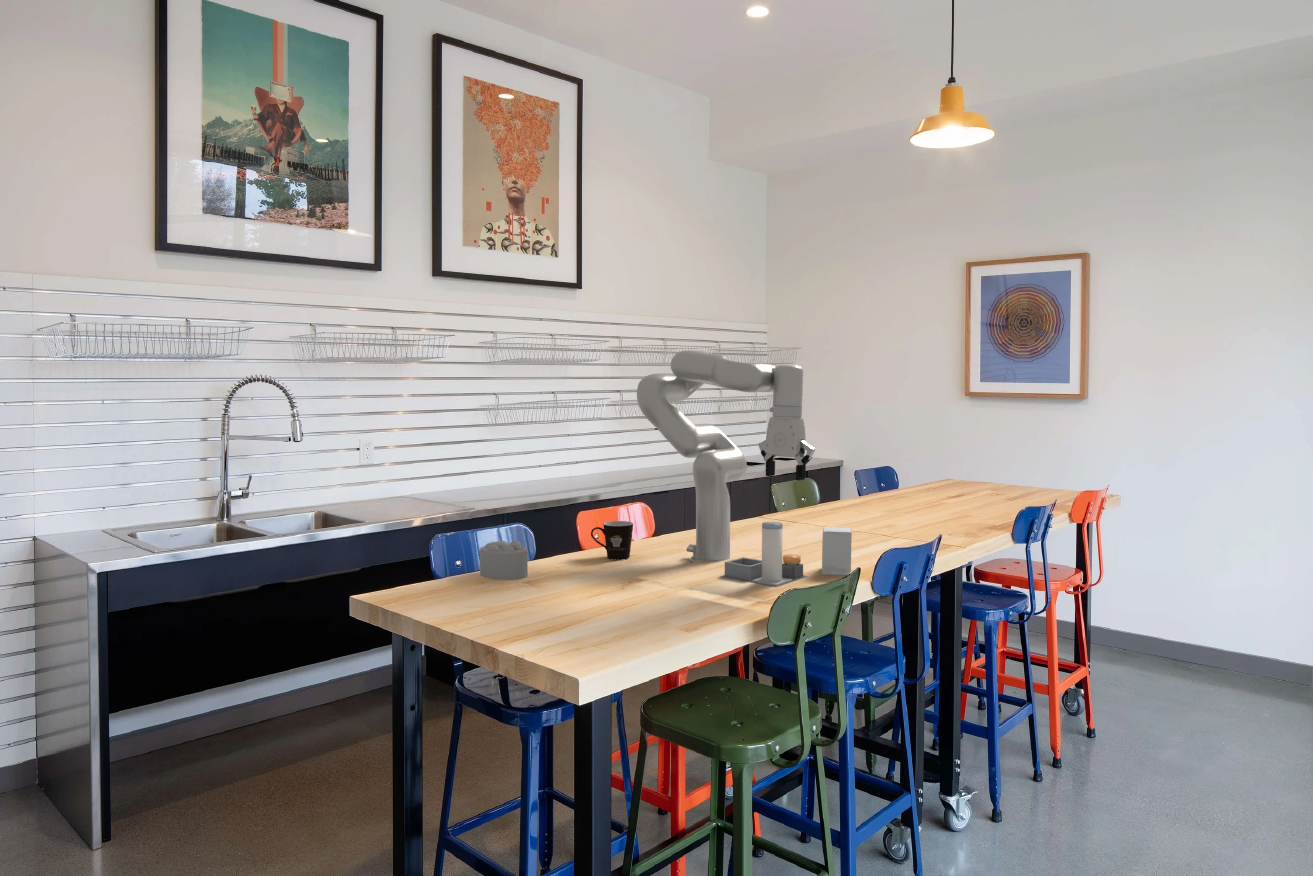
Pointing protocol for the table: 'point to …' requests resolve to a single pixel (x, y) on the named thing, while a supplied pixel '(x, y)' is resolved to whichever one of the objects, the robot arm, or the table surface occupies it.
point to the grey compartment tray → (760, 572)
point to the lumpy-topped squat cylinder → (504, 561)
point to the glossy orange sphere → (791, 559)
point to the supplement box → (836, 550)
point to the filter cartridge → (772, 551)
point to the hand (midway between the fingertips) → (784, 477)
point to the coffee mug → (616, 539)
